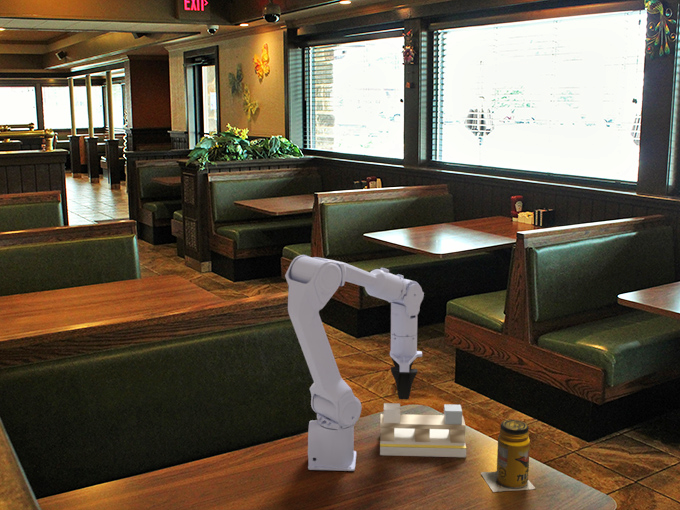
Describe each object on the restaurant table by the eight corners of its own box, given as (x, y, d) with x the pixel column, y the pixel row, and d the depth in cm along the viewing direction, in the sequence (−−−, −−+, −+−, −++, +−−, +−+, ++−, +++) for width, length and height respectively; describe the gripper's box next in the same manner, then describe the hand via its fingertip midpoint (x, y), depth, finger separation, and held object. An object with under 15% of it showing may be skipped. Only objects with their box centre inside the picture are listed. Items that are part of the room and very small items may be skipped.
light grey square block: (445, 424, 148) (445, 410, 148) (443, 417, 152) (444, 404, 151) (461, 424, 148) (462, 411, 148) (460, 417, 152) (460, 404, 151)
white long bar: (380, 440, 150) (380, 423, 149) (380, 430, 155) (380, 413, 154) (465, 443, 149) (465, 425, 148) (462, 432, 153) (463, 415, 153)
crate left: (383, 422, 149) (383, 409, 149) (383, 416, 153) (383, 403, 152) (400, 423, 149) (400, 410, 149) (399, 416, 153) (399, 403, 152)
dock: (380, 455, 148) (380, 445, 147) (380, 434, 158) (380, 425, 157) (466, 457, 147) (466, 447, 146) (461, 436, 156) (461, 427, 156)
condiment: (535, 489, 134) (538, 430, 132) (493, 492, 133) (495, 433, 130) (520, 470, 141) (523, 415, 139) (480, 474, 140) (482, 417, 137)
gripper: (424, 343, 145) (423, 405, 147) (420, 323, 159) (419, 380, 162) (390, 343, 145) (389, 404, 148) (389, 323, 159) (389, 379, 162)
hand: (403, 391), depth 155 cm, fingers open, 7 cm apart
